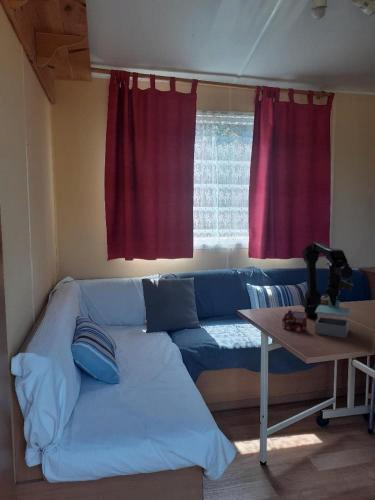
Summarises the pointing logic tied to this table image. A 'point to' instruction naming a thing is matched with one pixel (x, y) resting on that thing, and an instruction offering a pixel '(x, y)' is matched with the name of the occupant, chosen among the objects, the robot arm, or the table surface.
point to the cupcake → (325, 300)
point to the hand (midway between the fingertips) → (333, 305)
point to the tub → (331, 327)
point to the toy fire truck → (295, 321)
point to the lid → (333, 309)
